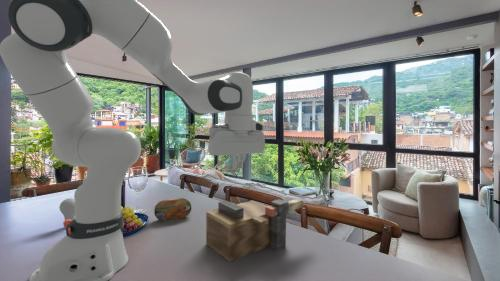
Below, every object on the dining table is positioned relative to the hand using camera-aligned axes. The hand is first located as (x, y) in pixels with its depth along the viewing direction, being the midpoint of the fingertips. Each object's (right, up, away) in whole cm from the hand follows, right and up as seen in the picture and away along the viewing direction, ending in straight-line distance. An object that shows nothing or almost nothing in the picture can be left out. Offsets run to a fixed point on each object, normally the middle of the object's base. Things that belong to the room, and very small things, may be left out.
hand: (237, 168), depth 80 cm
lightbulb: (-66, -25, +17) cm, 73 cm away
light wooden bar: (+16, -15, +4) cm, 22 cm away
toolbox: (+3, -26, +3) cm, 26 cm away
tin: (-29, -25, +27) cm, 46 cm away
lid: (+3, -17, +3) cm, 18 cm away
